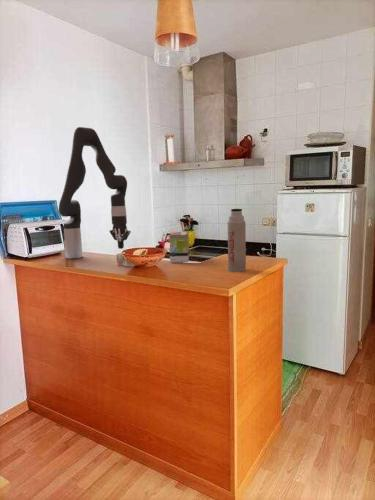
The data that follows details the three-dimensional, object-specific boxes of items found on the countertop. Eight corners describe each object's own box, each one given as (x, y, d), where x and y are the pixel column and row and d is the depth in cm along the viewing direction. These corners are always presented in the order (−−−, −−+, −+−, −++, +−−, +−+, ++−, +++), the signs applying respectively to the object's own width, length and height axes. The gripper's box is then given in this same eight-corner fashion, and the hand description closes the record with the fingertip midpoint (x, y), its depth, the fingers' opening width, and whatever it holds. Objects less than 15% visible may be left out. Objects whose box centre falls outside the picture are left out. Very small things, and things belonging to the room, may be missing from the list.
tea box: (189, 262, 192) (188, 234, 189) (169, 263, 192) (168, 234, 190) (189, 257, 207) (188, 230, 204) (171, 257, 207) (170, 231, 204)
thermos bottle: (233, 272, 166) (233, 209, 161) (225, 269, 173) (224, 208, 168) (249, 270, 169) (248, 208, 164) (239, 267, 176) (239, 208, 171)
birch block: (116, 253, 190) (135, 255, 184) (123, 251, 196) (142, 253, 190) (117, 265, 191) (135, 267, 185) (124, 263, 197) (142, 264, 191)
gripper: (104, 215, 190) (106, 248, 193) (123, 215, 183) (125, 250, 186) (114, 214, 196) (116, 246, 199) (133, 214, 189) (135, 248, 192)
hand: (121, 248), depth 192 cm, fingers closed
